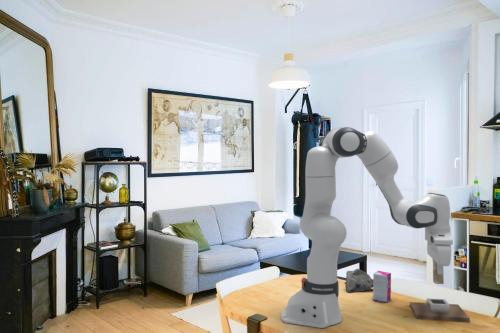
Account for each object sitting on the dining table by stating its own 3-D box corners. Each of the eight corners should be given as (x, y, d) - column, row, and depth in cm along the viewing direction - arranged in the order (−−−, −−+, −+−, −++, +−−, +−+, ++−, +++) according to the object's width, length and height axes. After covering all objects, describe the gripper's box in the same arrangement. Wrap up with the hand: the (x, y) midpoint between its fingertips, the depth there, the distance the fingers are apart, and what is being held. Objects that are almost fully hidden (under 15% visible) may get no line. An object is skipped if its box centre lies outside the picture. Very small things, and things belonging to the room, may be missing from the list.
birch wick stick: (435, 283, 155) (434, 257, 155) (433, 281, 158) (432, 255, 157) (443, 284, 154) (443, 257, 154) (441, 281, 157) (441, 255, 157)
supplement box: (386, 303, 167) (386, 275, 167) (372, 300, 171) (372, 273, 171) (391, 299, 172) (391, 272, 172) (377, 296, 176) (377, 270, 175)
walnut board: (416, 318, 151) (416, 314, 151) (409, 305, 165) (409, 301, 165) (469, 322, 147) (469, 318, 147) (457, 308, 161) (457, 304, 161)
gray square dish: (430, 312, 153) (430, 304, 153) (426, 305, 160) (426, 298, 160) (449, 313, 152) (449, 305, 152) (444, 306, 159) (444, 299, 159)
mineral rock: (377, 289, 186) (377, 267, 185) (372, 296, 176) (372, 273, 176) (349, 285, 192) (349, 264, 192) (342, 292, 183) (342, 269, 182)
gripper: (422, 230, 166) (423, 264, 167) (435, 240, 146) (435, 279, 147) (439, 231, 165) (439, 265, 165) (454, 241, 145) (454, 280, 145)
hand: (438, 272), depth 156 cm, fingers closed on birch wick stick, 3 cm apart
